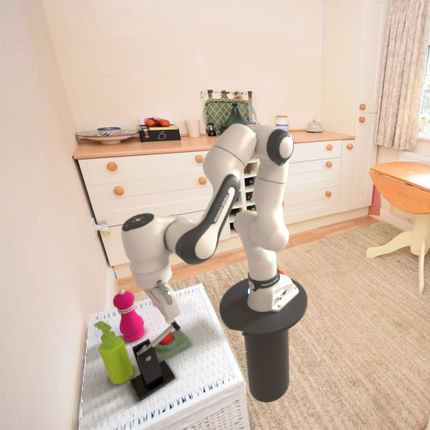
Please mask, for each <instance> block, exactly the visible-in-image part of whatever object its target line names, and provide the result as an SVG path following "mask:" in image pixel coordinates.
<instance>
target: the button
mask: <svg viewBox="0 0 430 430" xmlns="http://www.w3.org/2000/svg"><path fill="white" fill-rule="evenodd" d="M172 340H173V335H172V333H171V332H169V333H168V334H167V335H166V336H165V337H164V338H163V339H162V340H161V341H160V344H161V345H166V344H169V343H171V342H172Z"/></svg>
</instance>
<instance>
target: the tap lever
mask: <svg viewBox="0 0 430 430" xmlns="http://www.w3.org/2000/svg"><path fill="white" fill-rule="evenodd" d="M174 330H176V331H179V330H181V326H180V325H179V323H178V322H177V321H176V319H174V322H173V323H171V324H169V326H168V327H166V328H165V329H164V330H163V331H162V332H161V333H160V334H159V335H158V336H157V337H156V338H155V339H154V340H153V341H152V342H150V343H151V344H150V345H149V346H146V345H144V346H143V347H142V348H141V349H140V350H139V351H138V352H137V355H139V354H141V353H143V352H145V351H147V350H148V349H150V348H152V347H155V346H156V345H157V344H158V343H159V342H160V341H161V340H162V339H163V338H164V337H165V336H166V335H167V334H168V333H169V332H171V331H174Z"/></svg>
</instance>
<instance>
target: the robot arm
mask: <svg viewBox="0 0 430 430" xmlns="http://www.w3.org/2000/svg"><path fill="white" fill-rule="evenodd" d="M294 148H295V142H294V138H293V136H292V134H291V133H290V132H288V131H286V130H285V129H282V128H277V127H274V126H271V125H266V124H255V123H251V122H248V123H247V122H246V123H233V124H231V125H230V126H229V127H227V129H225V130H224V131H223V132H222V133H221V134H220V135H219V137H218V138H217V139H216V141H215V142H214V143H213V144H212V146H211V147H210V149H209V150H208V151H207V153H206V155H205V157H204V159H203V161H202V170H203V174H204V176H205V178H206V179H207V181H208V182H209V184H210V185H211V186H212V196H211V198H210V201H209V202H208V205H207V206H206V209H204V212H203V214H202V216H201V219H200V220H199V221H197V222H195V221H193V220H192V219H189V218H188V217H185V216H183V215H180V214H170V215H157V214H153V213H152V212H144V213H138V214H135V215H132V216H131V217H130V218H127V220H125V221H124V223H123V224H122V225H121V230H120V234H121V235H120V236H121V241H122V247H123V249H124V253H125V256H126V258H127V259H128V260H129V265H128V267H129V270H130V274H131V276H132V280H133V283H134V285H135V287H136V288H139V289H142V290H143V292H144V293H145V294H146V296H147V297H148V299H150V301H151V303H152V305H153V307H155V308H156V309H157V310H158V311H159V313H161V315H162V316H163V318H164V320H165V323H166V324H167V325H171V323H173V322H174V320H175V318H176V317H179V316H180V315H181V313H182V311H181V306H180V303H179V300H178V298H177V295H176V294H177V293H176V292H175V291H174V289H173V288H172V287H171V286H170V284H168V283H169V281H171V279H172V277H173V270H172V267H171V262H170V255H172V254H175V255H176V256H177V257H178V258H179V259H180V260H181V261H182V262H184V263H185V264H188V265H190V266H196V265H200V264H203V263H205V262H207V261H209V259H211V258H212V257H213V256H214V255H215V253H216V251H217V249H218V245H219V243H220V242H219V241H220V237H221V234H222V232H223V230H224V227H225V225H226V223H227V222H228V221H227V220H228V218H229V217H230V214H231V212H232V210H233V207H234V205H235V203H236V201H237V199H238V196H239V193H240V190H241V182H240V181H241V177H242V174H243V173H244V171H245V169H246V167H247V165H248V164H249V162H250V160H251V159H252V157H253V158H256V159H259V163H258V164H259V165H258V168H257V171H256V177H255V180H254V185H253V189H252V194H251V196H252V197H251V199H252V202H253V203H254V205H255V208H256V209H255V210H256V211H254V210H248V209H245V210H244V209H243V210H240V211H239V212H238V213H237V214H236V216H235V217H234V219H233V228H234V230H235V232H236V233H237V235H238V237H239V238H240V241H241V244H242V247H243V250H244V252H245V255H246V259H247V267H248V269H247V270H248V273H247V278H248V283H249V290H248V294H249V296H248V300H247V304H248V306H249V307H250V308H251V309H252V310H254V311H258V312H267V311H273V312H278V311H280V310H281V309H282V308H283V307H284V306H285V305H286V304H287V303H288V302H289V301H291V300H292V299H293V298H294V297H295V296H296V295H297V294H298V293H299V291H298V288H297V287H296V286H295V285H294V284H293V283H292V281H291V279H292V278H291V277H289V276H287V275H286V271H285V270H284V269H282V268H279V267H278V266H277V255H276V253H278V252H280V251H282V250H283V249H284V248H286V246H287V244H288V243H289V240H290V232H289V229H288V228H287V226H286V224H285V221H284V214H283V202H284V195H285V190H286V186H287V182H288V174H289V166H290V165H289V163H290V162H289V161H290V159H291V157H292V155H293V152H294ZM290 278H291V279H290Z"/></svg>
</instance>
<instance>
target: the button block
mask: <svg viewBox="0 0 430 430" xmlns="http://www.w3.org/2000/svg"><path fill="white" fill-rule="evenodd" d="M171 333H172V335H173V340H172V342H171V343H169V344H166V345H161V344H160V342H159V343H158V344H157V345H156V346H155V347H154V348H155V351H156V354H157V358H158V361H159V363H160V362H162V361H163V360H165V361H166V360H168V359H169V358H171V357H173V356H174V355H176V354H177V353H179V352H181V351H182V350H184V349H186V348H188V347H189V346H191V345H190V341H189V339H188V338H187V336H186V335H185V334H184V333H183V331H182V330H181V329H180V330H179V331H176V330H175V329H173V330H172V331H171Z"/></svg>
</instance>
